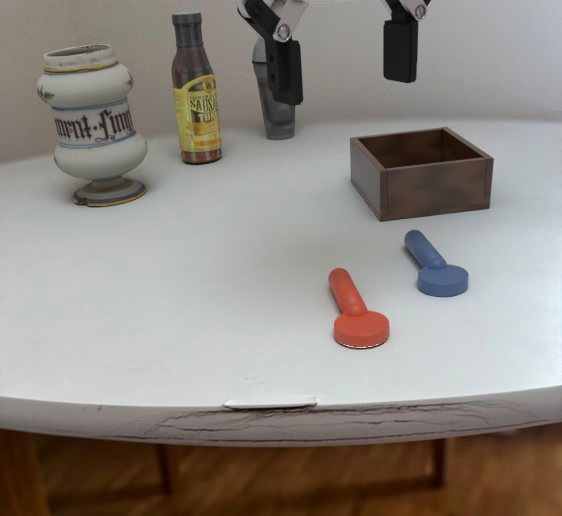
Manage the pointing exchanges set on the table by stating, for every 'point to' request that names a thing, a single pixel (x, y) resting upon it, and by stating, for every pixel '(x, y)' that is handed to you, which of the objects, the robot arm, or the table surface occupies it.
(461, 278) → the blue spoon
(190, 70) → the sauce bottle
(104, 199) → the apothecary jar
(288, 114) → the beverage cup
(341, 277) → the red spoon
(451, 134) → the bin
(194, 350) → the table surface
